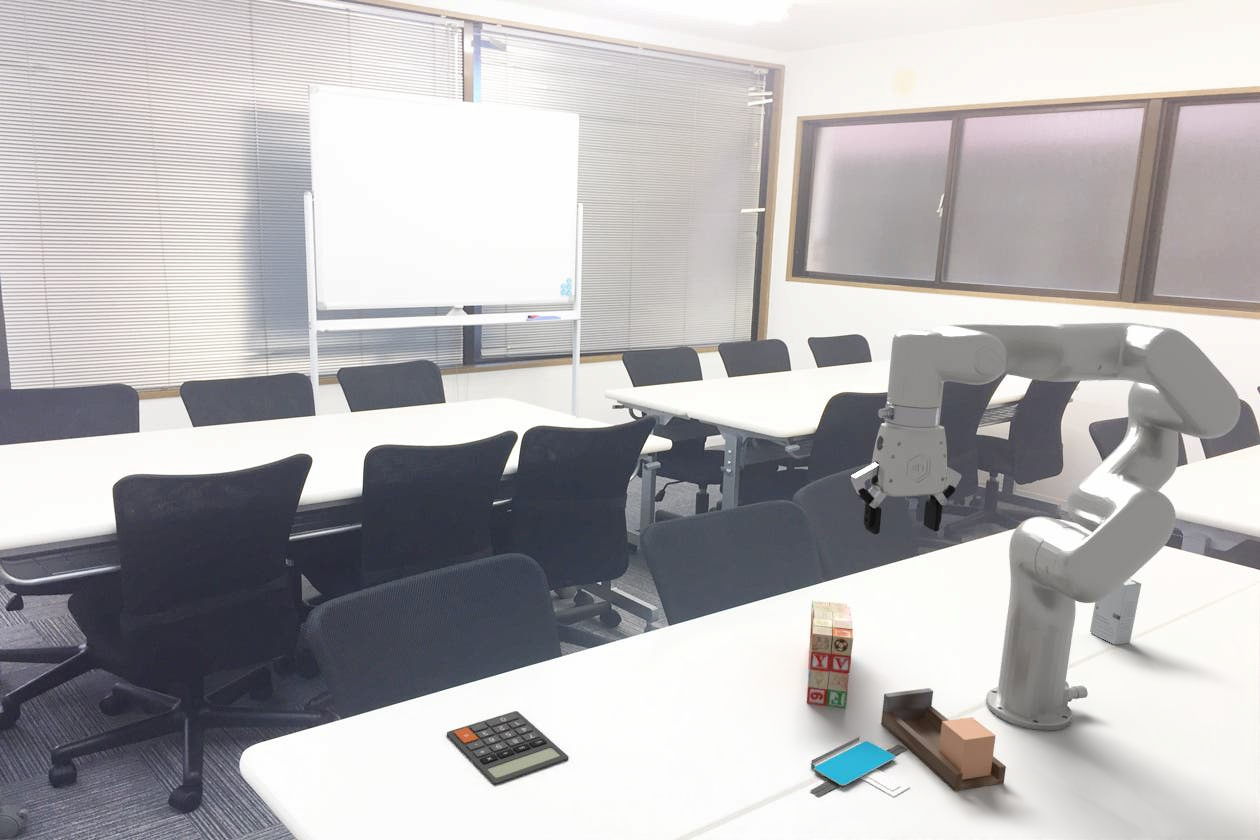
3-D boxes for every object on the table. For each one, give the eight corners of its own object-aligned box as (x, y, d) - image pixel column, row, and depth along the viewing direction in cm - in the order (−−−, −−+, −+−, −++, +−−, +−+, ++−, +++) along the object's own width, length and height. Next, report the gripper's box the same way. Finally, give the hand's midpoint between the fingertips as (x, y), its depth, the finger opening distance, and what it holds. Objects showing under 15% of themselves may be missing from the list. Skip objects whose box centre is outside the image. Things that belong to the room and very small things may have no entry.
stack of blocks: (808, 647, 168) (813, 583, 166) (843, 652, 167) (849, 587, 165) (806, 704, 148) (812, 632, 145) (846, 710, 146) (853, 637, 144)
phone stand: (854, 823, 119) (855, 812, 118) (784, 779, 128) (785, 768, 127) (943, 772, 131) (944, 761, 131) (873, 735, 140) (874, 725, 140)
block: (967, 755, 133) (972, 717, 132) (990, 775, 128) (995, 735, 127) (937, 760, 131) (942, 721, 130) (959, 780, 127) (964, 740, 126)
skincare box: (1088, 633, 179) (1097, 573, 177) (1105, 630, 181) (1114, 571, 179) (1115, 646, 174) (1125, 585, 171) (1133, 643, 176) (1142, 582, 173)
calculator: (516, 709, 141) (569, 756, 129) (516, 715, 141) (569, 762, 130) (445, 731, 134) (494, 782, 123) (445, 736, 135) (494, 788, 123)
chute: (926, 717, 145) (929, 688, 144) (1003, 782, 128) (1008, 749, 127) (881, 723, 142) (884, 693, 141) (954, 791, 125) (958, 757, 125)
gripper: (870, 422, 128) (860, 541, 131) (981, 420, 132) (968, 535, 136) (845, 411, 135) (836, 524, 138) (951, 410, 139) (939, 520, 143)
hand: (901, 529), depth 137 cm, fingers open, 9 cm apart
